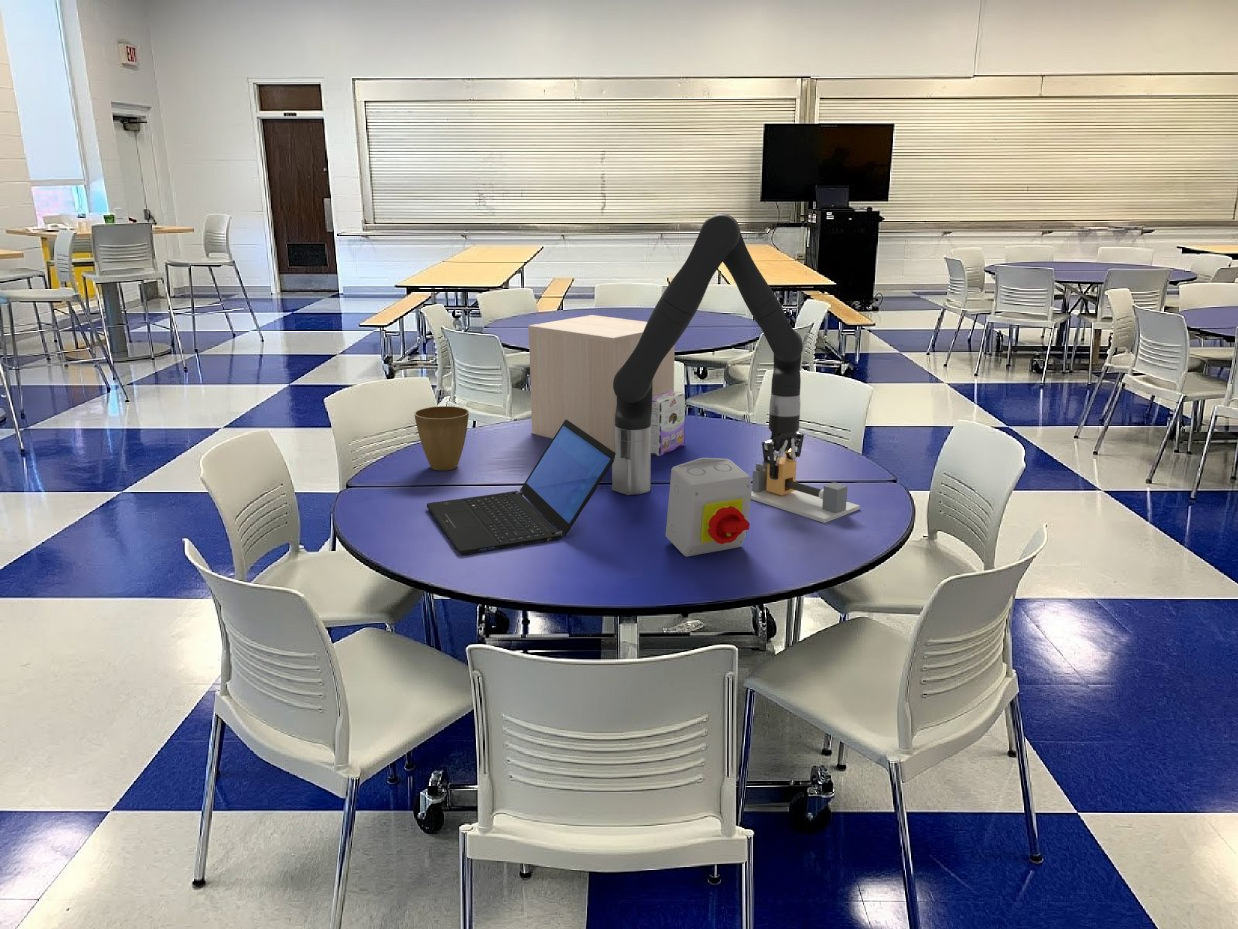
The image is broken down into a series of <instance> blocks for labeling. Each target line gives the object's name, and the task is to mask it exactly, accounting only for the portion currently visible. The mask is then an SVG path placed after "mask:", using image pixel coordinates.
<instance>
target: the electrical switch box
mask: <svg viewBox="0 0 1238 929" xmlns="http://www.w3.org/2000/svg"><path fill="white" fill-rule="evenodd" d="M751 478H752V477H751V476H750V475H749V474H748V473H747V472H746V471H744V470H743V469H741V467H739V465H737V464H736V463H734V462H733V461H732V460H730V459H729V458H718V457H717V458H716V457H700V458H696V459H693V460H690V461H687V462H684V463H680V464H678V465H675V466H672V468H671V472H670V481H669V483H670V484H669V493H668V503H667V505H668V506H667V515H666V524H665V526H666V527H665V537H666V539H668V540H669V541H670V543H672V545H673V546H674V547H675V548H676V549H677V550H678V551H679V552H680V554H682V555H683V556H684V557H686V558H688V557H693V556H698V555H703V554H710V553H715V552H720V551H725V550H726V551H727V550H731V549H738V548H741V547H742V545H743V543H744V541H745V539H746V536H747V531H748V530H750V525H751V523H750V522H749V515H750V510H751V509H750V507H751V502H752V501H751V500H752V499H751V493H752V480H751Z"/></svg>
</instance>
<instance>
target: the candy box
mask: <svg viewBox="0 0 1238 929" xmlns="http://www.w3.org/2000/svg"><path fill="white" fill-rule="evenodd" d="M685 416H686V393H685V392H679V391H674V392H673V391H668V392H666V393H663V394H660V395H657V396H654V397H652V415H651V456H656V457H660V456H663V455H666V454H667V453H670V452H672V451H674V450H677V449H679V448H681V447H683V446H685V445H686V444H685V440H686V439H685V438H686V436H685V435H686V434H685V433H686V432H685V430H686V429H685V427H686V426H685V425H686V422H685V421H686V419H685V418H686V417H685Z"/></svg>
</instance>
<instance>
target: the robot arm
mask: <svg viewBox="0 0 1238 929" xmlns="http://www.w3.org/2000/svg"><path fill="white" fill-rule="evenodd" d="M722 263H723V264H724V266H725V268H726V269H727V270H728V272H729V274H730V275H731V277H732V278H733V281H734V283H735V285H736V287H737V289H738V291H739V294H740V295H741V298H742V299H743V301H744V303H745V305H746V307H747V309H748V311H749V313H750V314H751V316H752V317H753V319H754V320H755V322H756V324H757V325H758V327H759V328H760V329H761V331H762V333H763V335H764V337H765V339H766V341H767V343H768V345H769V347H770V349H771V351H772V353H773V372H772V377H771V389H770V390H771V392H770V400H769V408H768V409H769V410H768V412H769V414H768V430H769V431H770V432H771V434H770V438H769V440H767V441H765V440H763V441H762V442H761V446H762V447H761V448H762V456H763V458H762V459H763V461H764V463H767V464H769V465H770V472H769V476H770V478H771V479H774V480H777V479H778V473H779V466H778V465H779V462H780V458H781V457H783V456H785V457H784V458H788V459H792V460H795V461H797V460H796V459H797V458H800V457H801V453H802V449H803V444H804V439H805V438H804V437H805V435H804V433H802V432H798V431H799V430H800V420H801V419H800V418H801V386H802V385H801V384H802V382H801V381H802V380H801V378H802V377H801V363H802V355H803V354H802V353H803V349H804V347H803V345H804V343H803V339H802V337H801V335H800V334H799V333H798V332H797V331H795V329H794V328H793V327H792V324H791V323H790V322H789V320H788V319H787V317H786V316H787V315H786V313H785V311H784V308H783V307H782V305H781V302H780V301H779V300H778V297H777V296H776V295H775V293H774V291H773V290H772V288H771V287H770V285H769V284H768V282H767V281H766V279H765V277H764V276H763V274H762V273H761V272H760V269H759V268H758V267H757V265H756V263H755V261H754V260H753V258H752V256H751V254H750V252H749V250H748V248H747V245H746V243H745V240H744V238H743V235H742V232H741V228H740V225H739V222H738V221H737V219H735V218H734V217H733V216H731V215H730V214H727V213H723V212H722V213H715V214H713V215H711V216H709V217H708V218H707V219H706V220H705V221H704V222H703V223H702V225H701V228H700V230H699V233H698V235H697V238H696V239H695V243H694V244H693V246H692V248H691V251H690V253H689V255H688V257H687V259H686V260H685V262H684V263H683V265H682V266H681V268H680V269H679V270H678V272H677V273H676V274H675V275H674V277H673V278H672V279H671V281H670V283H669V284H668V286H666V288H665V290H664V291H663V292H662V294H661V296H660V298H659V300H657V303H656V305H655V307H654V308H653V309H652V313H651V315H650V317H649V318H648V320H647V321H646V322H647V324H646V326H645V329H644V331H643V333H642V336H641V338H640V340H639V342H638V344H637V346H636V348H635V349H634V351H633V352H632V354H631V355H630V357H629V358H628V360H627V361H626V362H625V364H624V365H623V366H622V367H621V368H620V369H619V371H618V372H617V373H616V375H615V377H614V380H613V389H614V392H615V395H616V396H617V406H616V413H615V453H616V455H615V459H614V462H613V464H612V465H611V478H612V479H611V482H612V483H611V484H612V485H611V490H612V491H614V492H618V493H620V494H622V495H625V496H630V495H631V496H632V495H642V494H646V493H648V492H650V490H651V468H652V467H651V456H652V454H651V415H652V391H653V381H652V380H653V378H654V376H655V373H656V371H657V369H658V367H659V366H660V364H661V362H662V361H663V359H664V358H665V356H666V355H667V354H668V352H669V351H670V350H671V349H672V347H673V346H674V347H675V345H676V343H677V342H678V341H679V339H680V338H681V336H682V335H683V334H684V332H685V331H686V329H688V326H689V325H690V323H691V321H692V319H693V318H694V316H695V314H696V313H697V311H698V309H699V307H700V305H701V303H702V301H703V298H704V297H705V294H706V291H707V289H708V286H709V285H710V283H711V280H712V279H713V276H714V275H715V273H716V272H717V270H718V269H719V268H720V266H721V264H722ZM796 448H797V449H796ZM775 458H776V460H774V459H775Z"/></svg>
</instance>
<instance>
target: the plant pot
mask: <svg viewBox="0 0 1238 929" xmlns="http://www.w3.org/2000/svg"><path fill="white" fill-rule="evenodd" d="M469 412H470V411H469V409H467V408H464V407H460V406H450V405H446V406H445V405H442V406H430V407H424V408H420V409H418V410H416V411H415V412H414V415H413V416H414V420H415V425H416V429H417V433H418V437H419V440H420V443H421V447H422V449H423V452H424V455H425V457H426V460H427V463H428V464H429V466H430V469H431V470H434V471H451V470H455V469H456V468H458V467H459V466H458V465H459V464H460V463H459V462H460V461H461V460H460V459H461V457H462V453H463V451H464V446H465V441H466V436H467V431H468V426H469V425H468V424H469V417H470V416H469V414H470V413H469Z"/></svg>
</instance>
